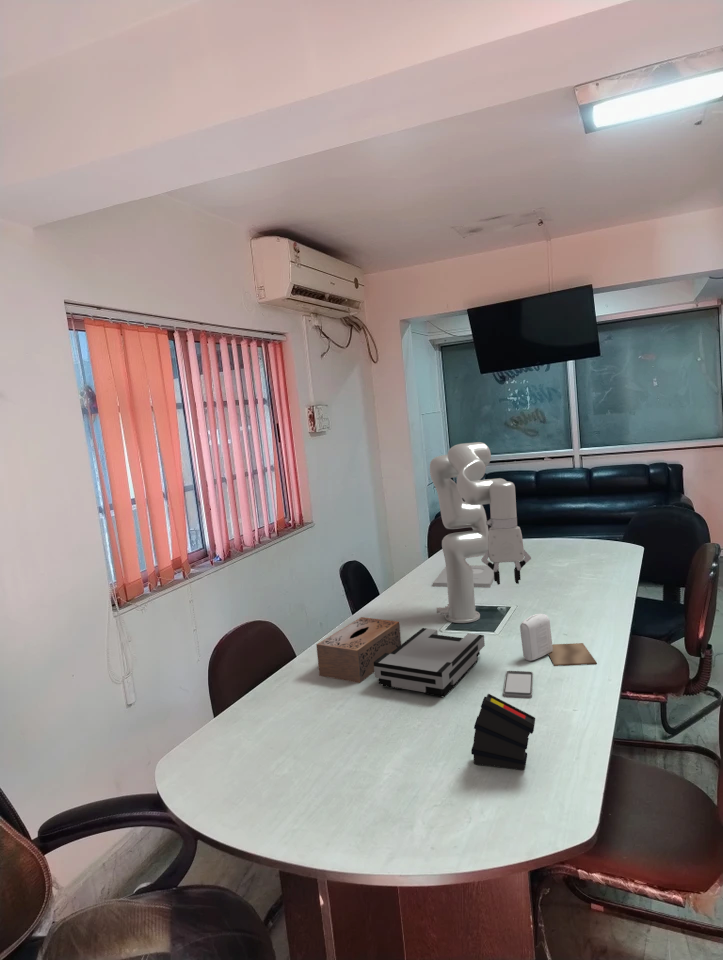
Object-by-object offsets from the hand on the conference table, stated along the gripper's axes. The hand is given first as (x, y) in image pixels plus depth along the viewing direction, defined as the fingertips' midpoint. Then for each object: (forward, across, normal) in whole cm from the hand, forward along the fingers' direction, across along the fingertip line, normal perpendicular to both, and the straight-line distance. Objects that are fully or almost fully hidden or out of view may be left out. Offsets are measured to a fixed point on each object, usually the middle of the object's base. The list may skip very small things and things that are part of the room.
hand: (507, 582), depth 186 cm
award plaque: (+24, -6, +92) cm, 95 cm away
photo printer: (+23, +8, 0) cm, 25 cm away
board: (+23, +17, 0) cm, 29 cm away
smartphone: (+24, -1, -19) cm, 31 cm away
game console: (+24, -24, -8) cm, 35 cm away
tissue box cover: (+24, -46, +1) cm, 52 cm away
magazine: (+24, -10, -57) cm, 63 cm away
